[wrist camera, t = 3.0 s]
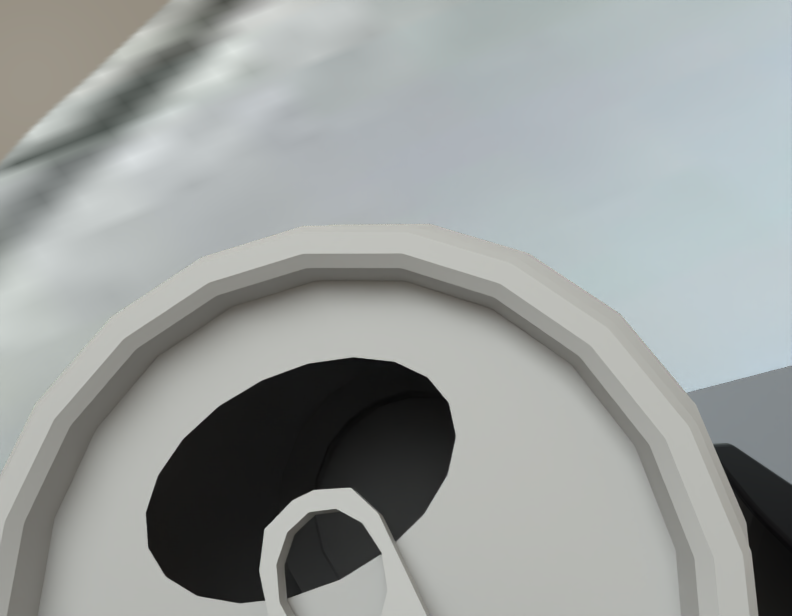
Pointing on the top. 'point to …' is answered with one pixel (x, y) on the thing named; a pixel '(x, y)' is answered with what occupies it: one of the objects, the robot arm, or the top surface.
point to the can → (369, 447)
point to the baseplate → (752, 417)
